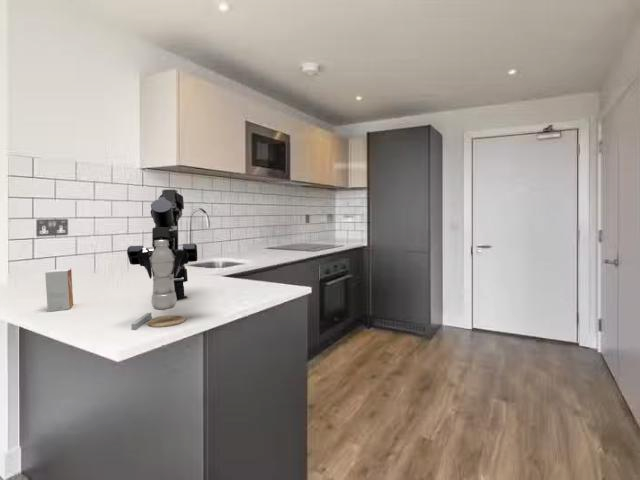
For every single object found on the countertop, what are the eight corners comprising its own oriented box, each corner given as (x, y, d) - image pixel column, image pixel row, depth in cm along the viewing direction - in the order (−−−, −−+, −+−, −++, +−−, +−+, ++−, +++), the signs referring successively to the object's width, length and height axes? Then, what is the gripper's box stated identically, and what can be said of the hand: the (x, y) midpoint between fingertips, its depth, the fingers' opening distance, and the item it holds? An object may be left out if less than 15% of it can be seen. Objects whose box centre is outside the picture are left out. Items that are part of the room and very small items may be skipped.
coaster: (139, 324, 105) (139, 322, 105) (167, 316, 115) (167, 314, 114) (165, 328, 101) (165, 326, 101) (192, 319, 110) (192, 317, 110)
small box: (70, 309, 126) (67, 270, 125) (47, 311, 123) (44, 272, 122) (73, 304, 133) (71, 268, 132) (52, 306, 130) (49, 269, 129)
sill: (136, 329, 101) (136, 323, 101) (131, 329, 101) (131, 324, 101) (151, 317, 113) (151, 312, 113) (147, 317, 113) (147, 312, 113)
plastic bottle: (151, 308, 109) (147, 239, 108) (175, 305, 112) (172, 238, 111) (152, 313, 103) (149, 241, 102) (178, 310, 106) (175, 239, 105)
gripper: (126, 217, 107) (120, 261, 97) (195, 216, 112) (196, 257, 103) (132, 243, 115) (128, 285, 105) (197, 241, 120) (198, 281, 111)
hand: (162, 276), depth 106 cm, fingers closed on plastic bottle, 6 cm apart
